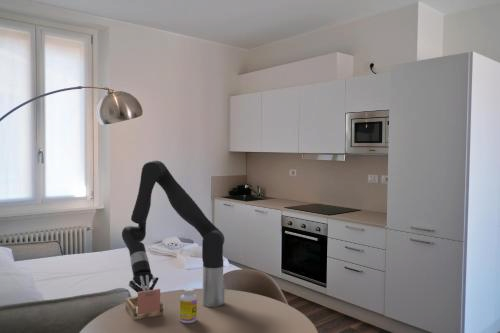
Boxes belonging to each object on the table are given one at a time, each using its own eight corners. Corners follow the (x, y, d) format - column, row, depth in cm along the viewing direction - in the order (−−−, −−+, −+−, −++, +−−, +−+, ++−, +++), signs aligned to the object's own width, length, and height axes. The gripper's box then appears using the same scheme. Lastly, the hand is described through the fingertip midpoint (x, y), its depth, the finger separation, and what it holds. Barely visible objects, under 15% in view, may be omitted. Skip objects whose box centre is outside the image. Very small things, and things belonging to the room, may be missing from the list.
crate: (152, 304, 179) (152, 294, 179) (163, 315, 166) (163, 304, 166) (125, 308, 172) (125, 298, 172) (134, 320, 160) (134, 309, 160)
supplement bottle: (193, 324, 157) (193, 292, 157) (177, 322, 158) (177, 290, 158) (198, 318, 163) (199, 287, 163) (183, 316, 165) (184, 285, 165)
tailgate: (159, 310, 166) (159, 288, 166) (160, 311, 165) (160, 289, 165) (137, 313, 161) (137, 291, 161) (138, 315, 160) (138, 292, 160)
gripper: (126, 261, 170) (133, 298, 159) (156, 258, 176) (165, 293, 166) (123, 270, 174) (129, 307, 164) (153, 267, 181) (161, 302, 170)
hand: (147, 300), depth 165 cm, fingers closed
